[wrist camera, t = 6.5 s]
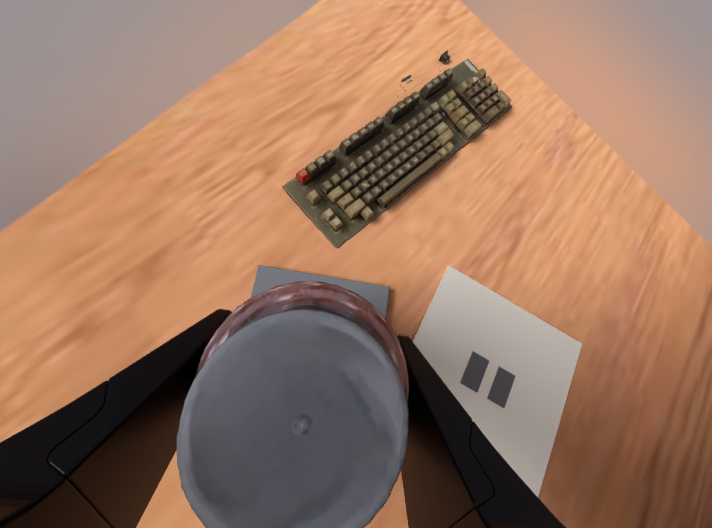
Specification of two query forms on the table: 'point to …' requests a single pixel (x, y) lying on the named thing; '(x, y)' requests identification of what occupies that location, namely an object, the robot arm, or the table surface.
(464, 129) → the keyboard
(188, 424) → the supplement bottle
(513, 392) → the card
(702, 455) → the table surface
